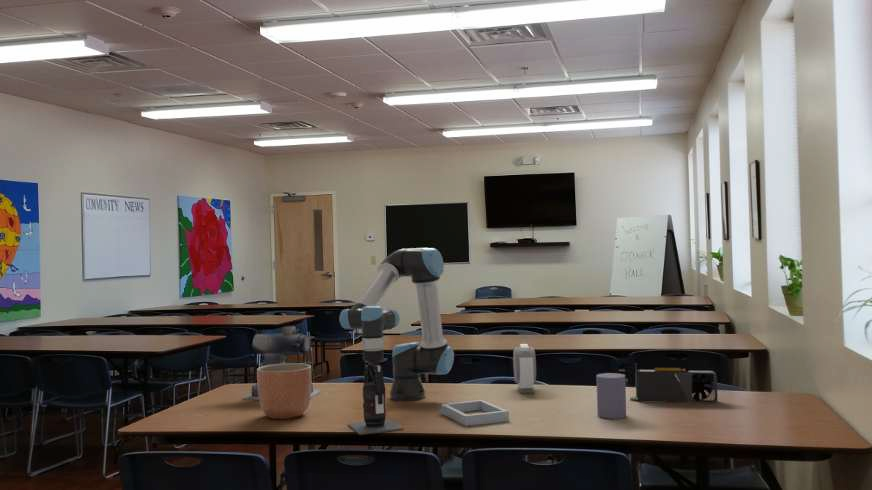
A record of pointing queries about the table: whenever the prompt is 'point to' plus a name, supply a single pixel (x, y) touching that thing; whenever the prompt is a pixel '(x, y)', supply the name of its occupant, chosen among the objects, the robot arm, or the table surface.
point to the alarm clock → (524, 367)
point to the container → (611, 395)
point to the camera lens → (372, 407)
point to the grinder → (279, 351)
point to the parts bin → (490, 416)
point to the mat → (387, 427)
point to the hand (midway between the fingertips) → (374, 409)
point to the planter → (284, 389)
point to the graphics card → (675, 385)
